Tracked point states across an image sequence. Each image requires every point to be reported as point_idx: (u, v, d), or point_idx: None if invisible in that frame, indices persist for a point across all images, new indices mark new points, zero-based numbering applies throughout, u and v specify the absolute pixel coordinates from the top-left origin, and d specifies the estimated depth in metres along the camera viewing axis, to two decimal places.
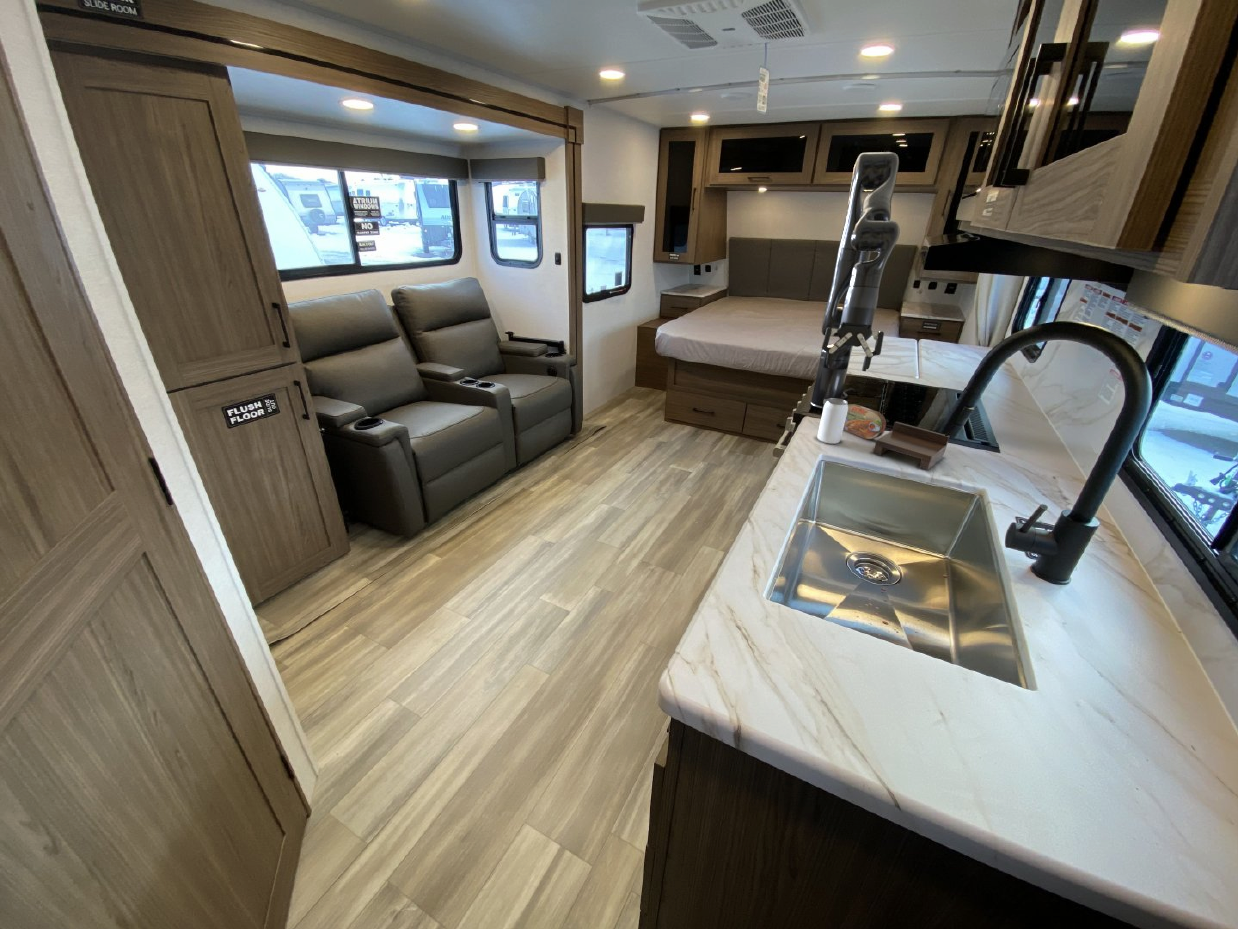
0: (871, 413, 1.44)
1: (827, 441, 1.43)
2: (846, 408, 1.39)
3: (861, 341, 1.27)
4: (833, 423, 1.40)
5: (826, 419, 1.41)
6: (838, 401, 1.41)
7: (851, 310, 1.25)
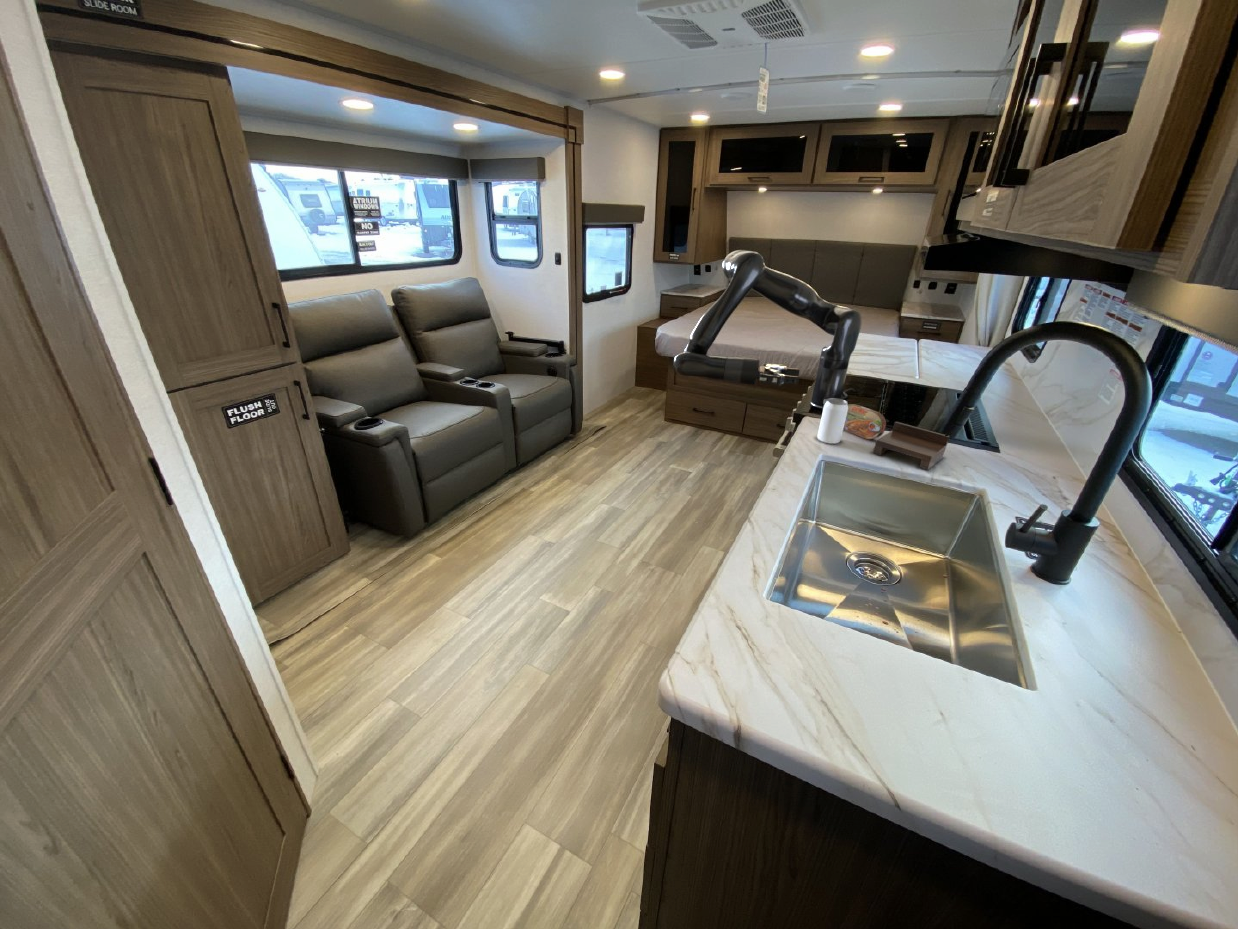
0: (871, 413, 1.44)
1: (827, 441, 1.43)
2: (846, 408, 1.39)
3: None
4: (833, 423, 1.40)
5: (826, 419, 1.41)
6: (838, 401, 1.41)
7: None
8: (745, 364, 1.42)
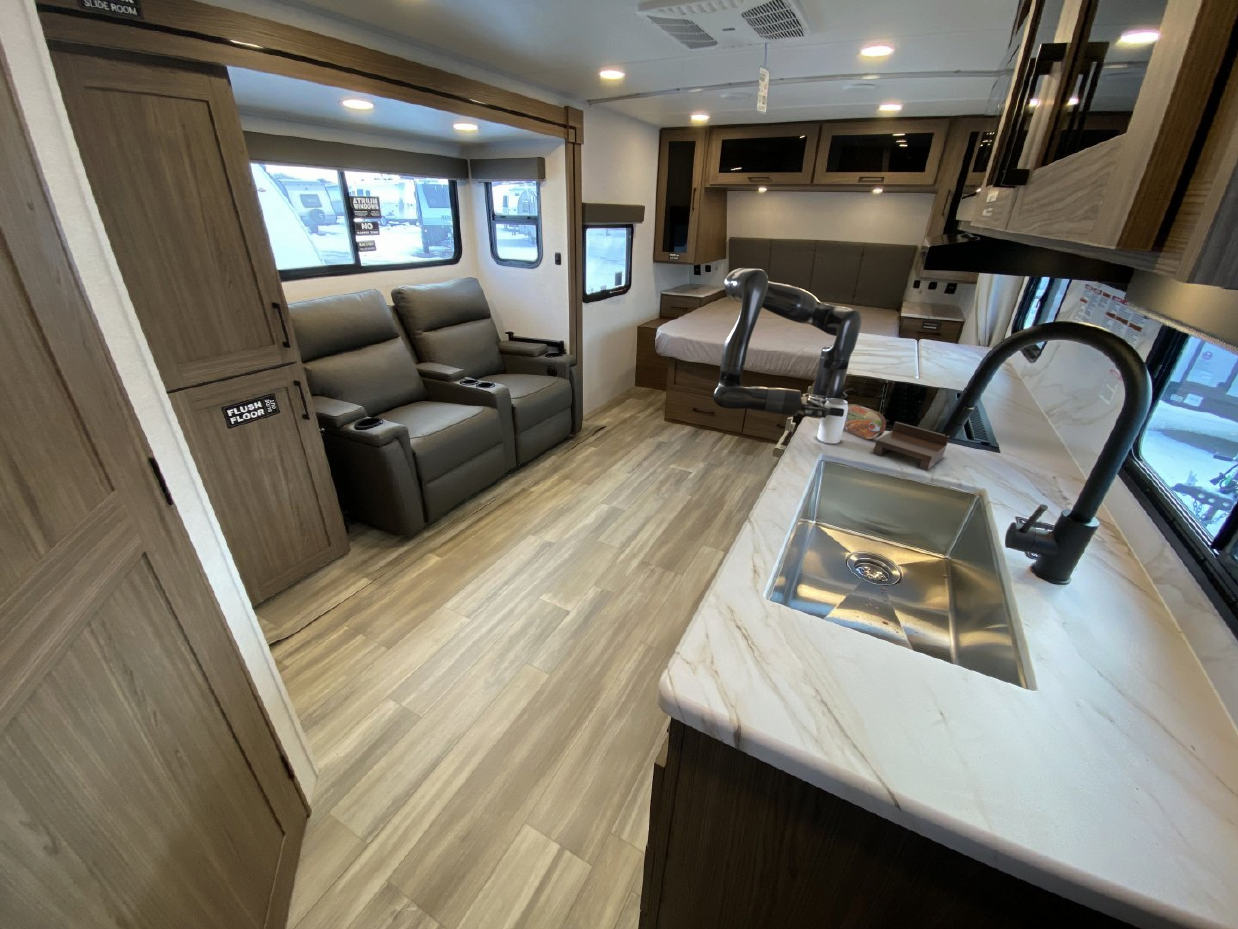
0: (871, 413, 1.44)
1: (827, 441, 1.43)
2: (846, 408, 1.39)
3: None
4: (833, 423, 1.40)
5: (827, 419, 1.41)
6: (838, 401, 1.41)
7: None
8: (787, 396, 1.41)
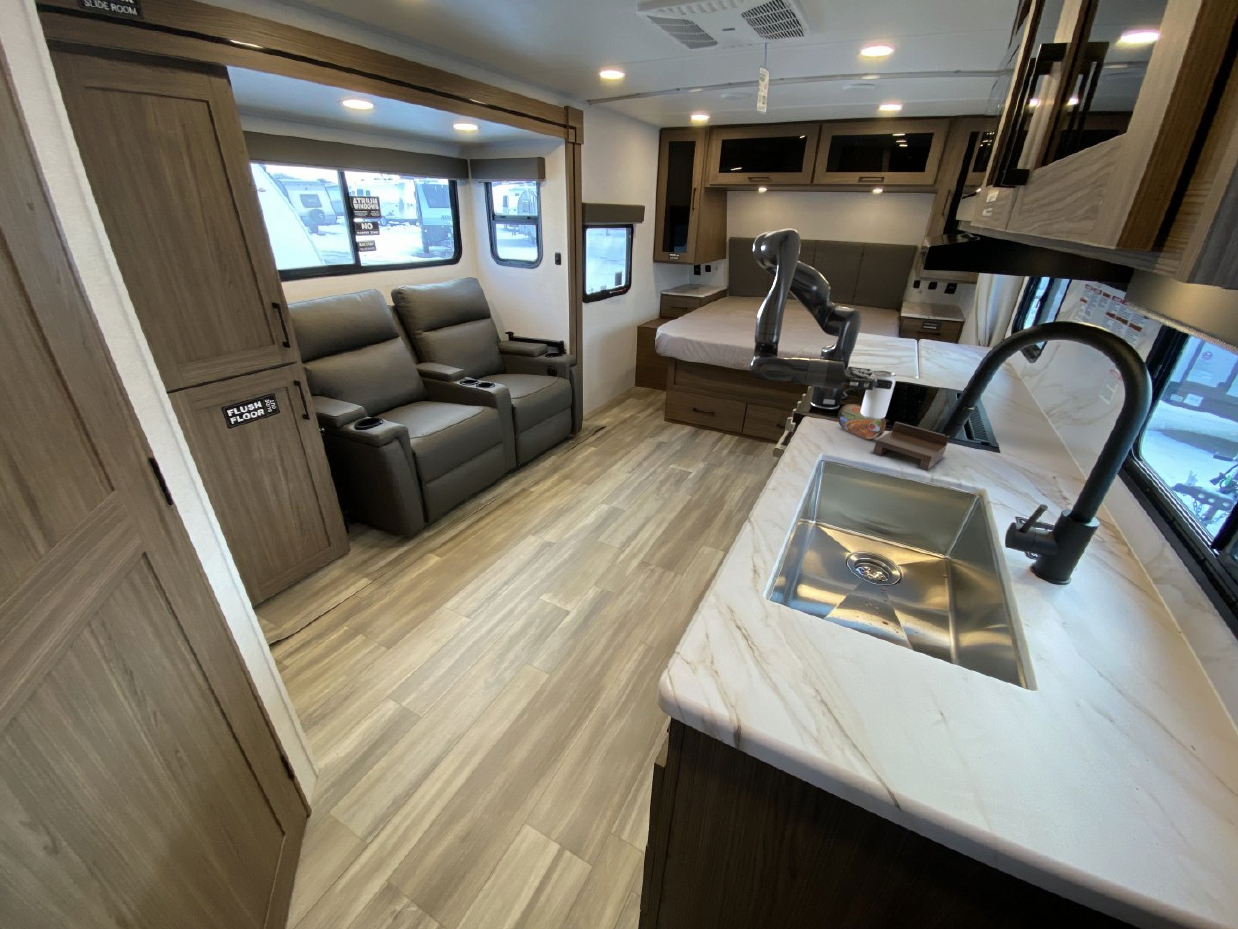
0: None
1: (872, 416, 1.34)
2: (894, 380, 1.30)
3: None
4: (879, 396, 1.31)
5: (872, 392, 1.32)
6: (885, 373, 1.32)
7: None
8: (830, 367, 1.33)
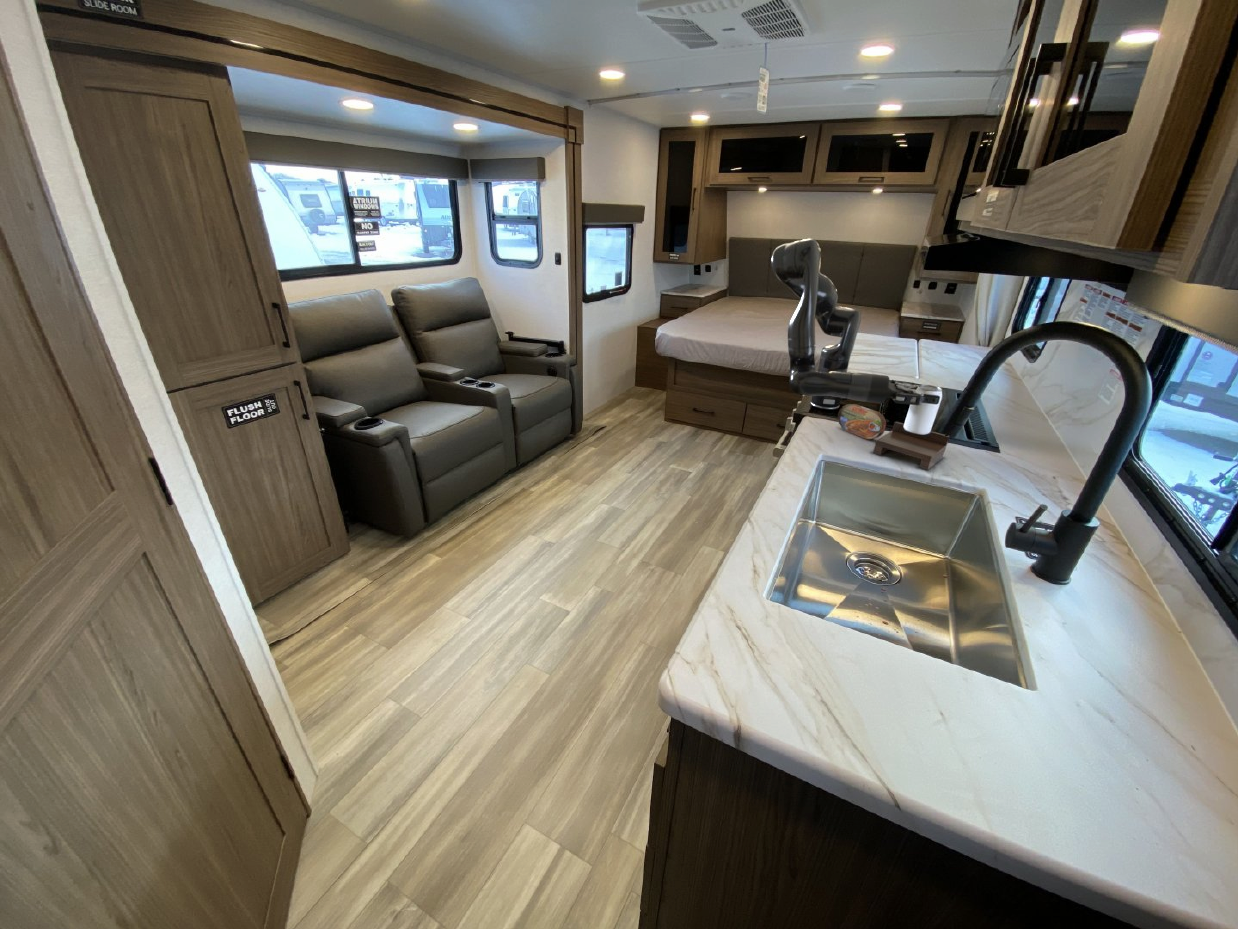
0: (871, 413, 1.44)
1: (917, 431, 1.30)
2: (941, 395, 1.26)
3: None
4: (925, 411, 1.28)
5: (918, 407, 1.28)
6: (930, 388, 1.29)
7: None
8: (874, 381, 1.29)
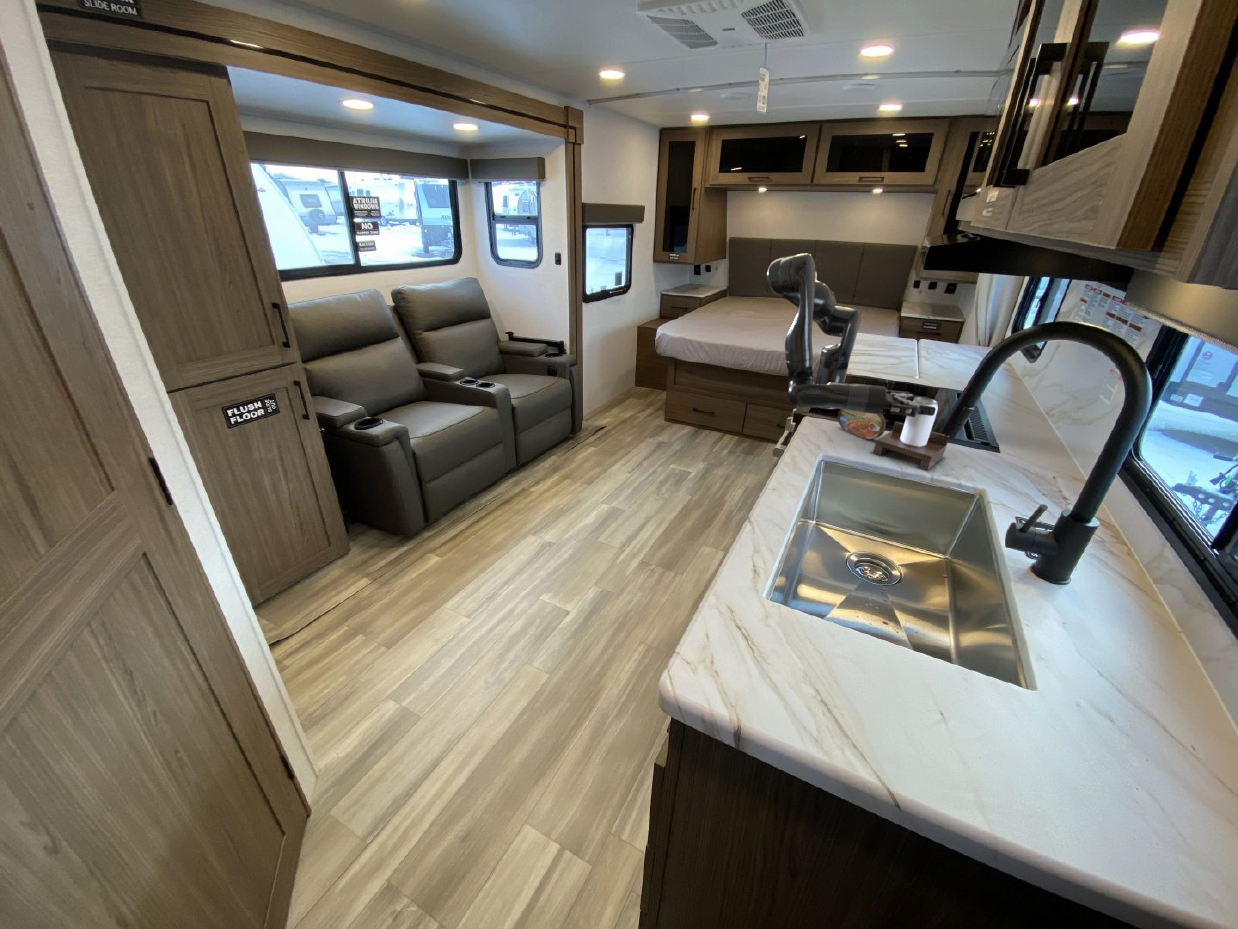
0: (871, 413, 1.44)
1: (913, 444, 1.32)
2: (936, 408, 1.28)
3: None
4: (921, 424, 1.29)
5: (914, 420, 1.30)
6: (926, 400, 1.30)
7: None
8: (872, 393, 1.31)
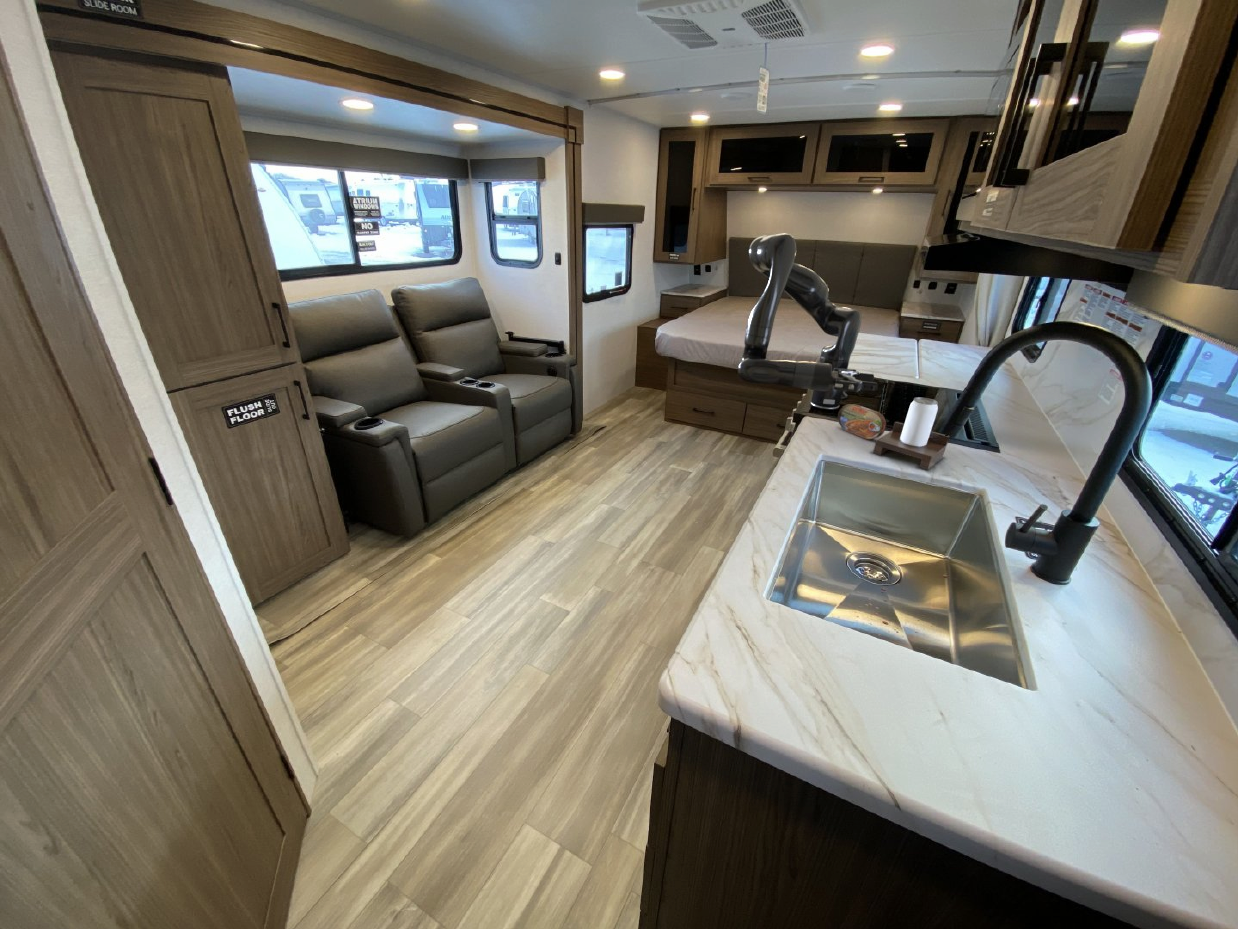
0: (871, 413, 1.44)
1: (913, 444, 1.32)
2: (936, 408, 1.28)
3: None
4: (921, 424, 1.29)
5: (914, 420, 1.30)
6: (926, 400, 1.30)
7: None
8: (817, 369, 1.33)
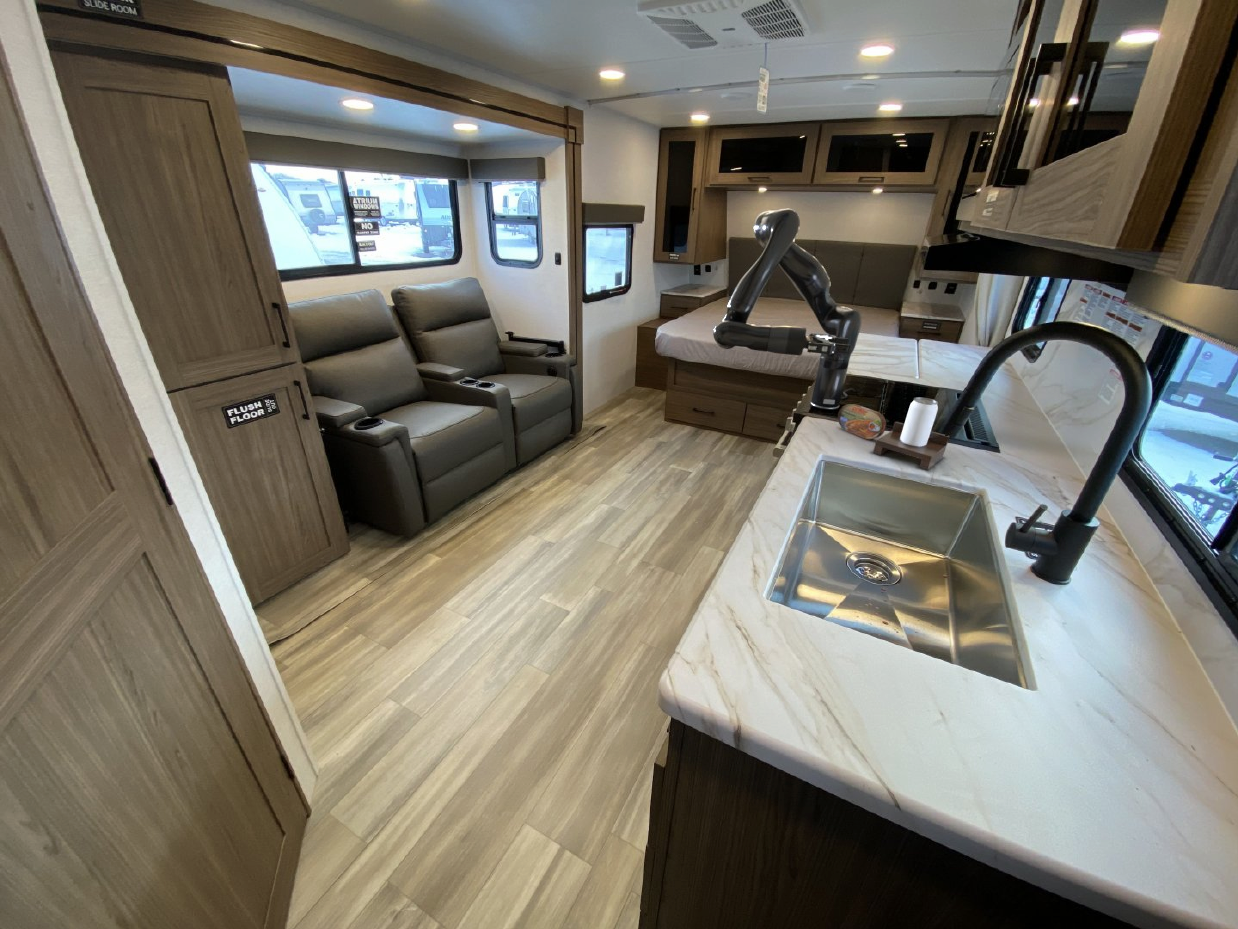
0: (871, 413, 1.44)
1: (913, 444, 1.32)
2: (936, 408, 1.28)
3: None
4: (921, 424, 1.29)
5: (914, 420, 1.30)
6: (926, 400, 1.30)
7: None
8: (791, 333, 1.33)
